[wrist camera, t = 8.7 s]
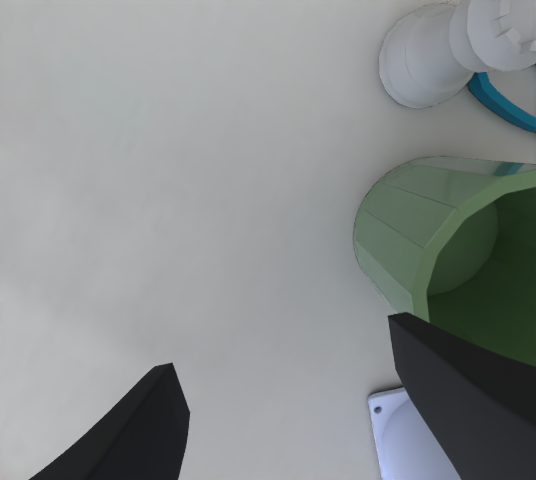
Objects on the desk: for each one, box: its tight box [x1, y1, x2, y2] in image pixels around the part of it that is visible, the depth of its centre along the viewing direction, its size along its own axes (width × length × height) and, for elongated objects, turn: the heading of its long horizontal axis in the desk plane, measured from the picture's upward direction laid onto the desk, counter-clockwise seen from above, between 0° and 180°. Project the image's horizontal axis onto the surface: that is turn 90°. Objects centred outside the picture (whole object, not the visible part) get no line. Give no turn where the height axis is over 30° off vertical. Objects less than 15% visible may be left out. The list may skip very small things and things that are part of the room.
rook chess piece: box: [379, 0, 536, 108], centre depth 14 cm, size 4×4×8 cm
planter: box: [353, 156, 536, 366], centre depth 16 cm, size 8×8×8 cm
